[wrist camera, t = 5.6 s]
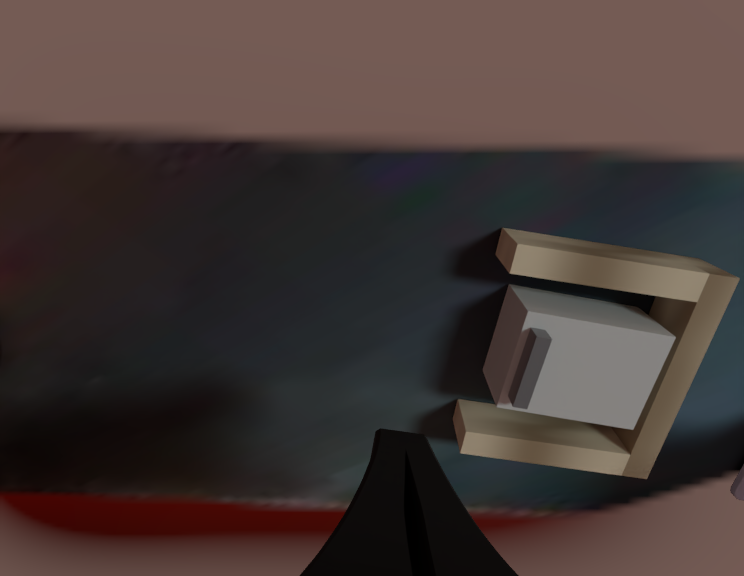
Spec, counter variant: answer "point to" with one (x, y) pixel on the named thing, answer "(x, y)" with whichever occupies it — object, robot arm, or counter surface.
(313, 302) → the counter surface
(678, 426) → the counter surface
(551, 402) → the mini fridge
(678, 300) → the bay
